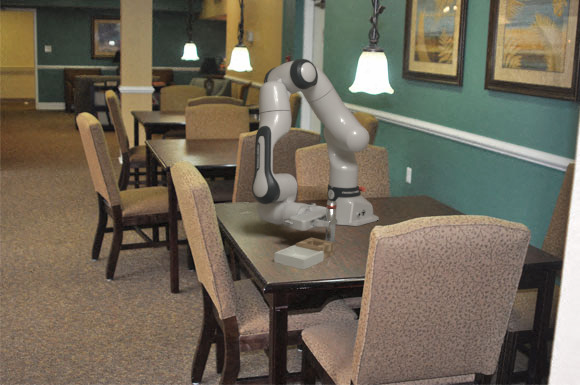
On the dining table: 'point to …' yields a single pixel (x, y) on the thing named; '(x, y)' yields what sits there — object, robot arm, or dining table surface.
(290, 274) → the dining table surface
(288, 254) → the tray
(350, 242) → the dining table surface
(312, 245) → the wooden square frame
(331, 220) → the cylinder
